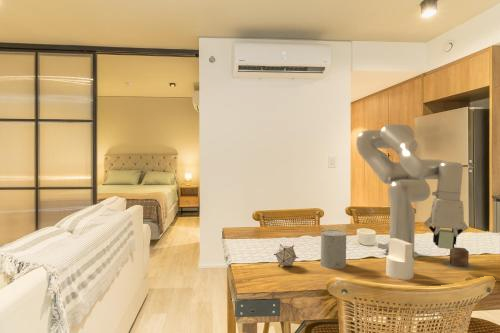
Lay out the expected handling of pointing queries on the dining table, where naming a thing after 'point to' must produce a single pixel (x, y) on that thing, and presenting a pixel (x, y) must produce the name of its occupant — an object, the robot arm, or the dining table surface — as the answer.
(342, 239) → the grey cylinder
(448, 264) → the build pad
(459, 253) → the walnut block
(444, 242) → the green block
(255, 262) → the dining table surface
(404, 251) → the base with upright slab
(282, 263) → the grey spiked polyhedron
